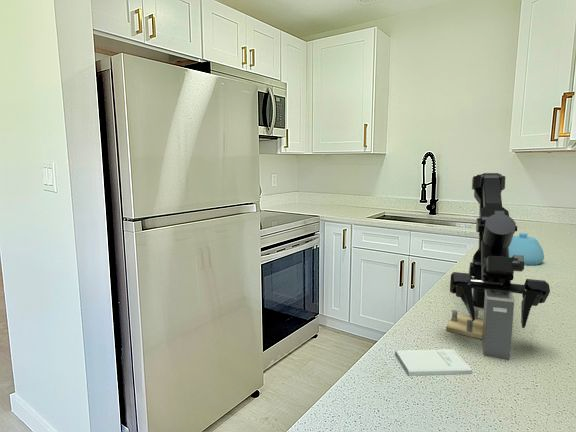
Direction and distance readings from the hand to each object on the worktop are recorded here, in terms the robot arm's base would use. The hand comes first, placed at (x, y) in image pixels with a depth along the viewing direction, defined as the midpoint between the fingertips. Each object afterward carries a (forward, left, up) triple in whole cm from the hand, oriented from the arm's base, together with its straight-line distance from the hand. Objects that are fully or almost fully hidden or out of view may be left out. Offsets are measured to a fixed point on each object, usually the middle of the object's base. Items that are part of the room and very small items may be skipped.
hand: (497, 323), depth 77 cm
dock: (-11, -6, -7) cm, 15 cm away
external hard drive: (+11, -10, -8) cm, 17 cm away
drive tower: (-1, 0, -7) cm, 7 cm away
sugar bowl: (-89, 0, -7) cm, 89 cm away
